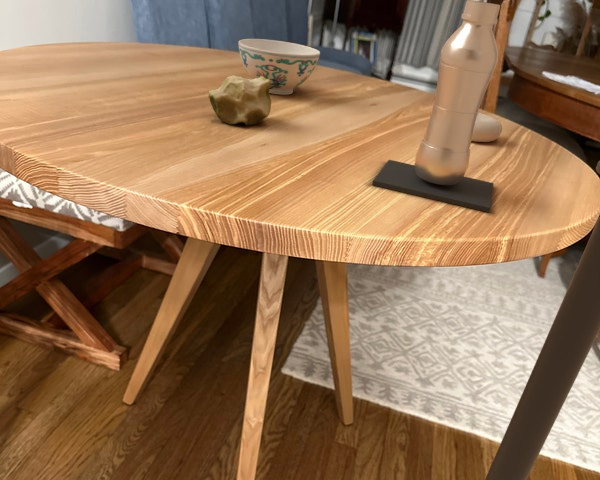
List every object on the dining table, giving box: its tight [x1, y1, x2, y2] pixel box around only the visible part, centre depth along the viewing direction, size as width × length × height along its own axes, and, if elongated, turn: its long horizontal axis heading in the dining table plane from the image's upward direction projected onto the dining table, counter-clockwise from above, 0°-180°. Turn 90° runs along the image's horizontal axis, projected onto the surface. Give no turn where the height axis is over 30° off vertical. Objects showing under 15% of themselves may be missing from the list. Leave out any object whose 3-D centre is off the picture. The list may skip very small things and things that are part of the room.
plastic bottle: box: [414, 0, 501, 185], centre depth 66 cm, size 6×7×20 cm
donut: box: [471, 112, 503, 143], centre depth 95 cm, size 10×4×10 cm
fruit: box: [208, 74, 279, 126], centre depth 84 cm, size 9×9×8 cm
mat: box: [371, 159, 495, 213], centre depth 71 cm, size 14×10×1 cm
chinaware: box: [237, 38, 321, 96], centre depth 105 cm, size 15×15×8 cm
